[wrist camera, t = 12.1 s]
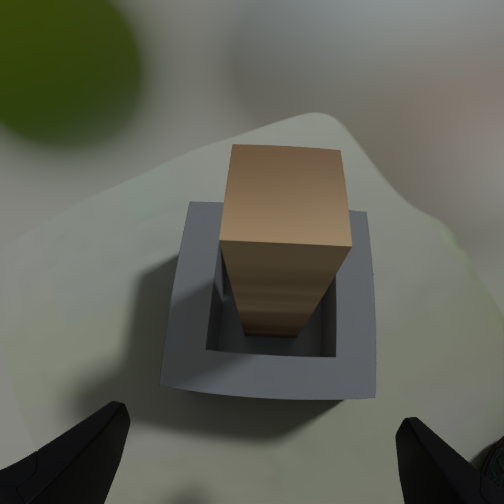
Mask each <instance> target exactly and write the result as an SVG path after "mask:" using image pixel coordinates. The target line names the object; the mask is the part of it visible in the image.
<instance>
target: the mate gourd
mask: <svg viewBox="0 0 504 504" xmlns="http://www.w3.org/2000/svg"><path fill="white" fill-rule="evenodd" d="M481 474H483V475H484V476H485V477H486V478H487V479H489V480H490V481H491V482H492V483H494V484H495V485H496V486H497V487H499V488H500V489H502V490H503V491H504V436H503V437H502V438H501V439H500V440H499V441H498V442H497V443H496V444H495V445H494V446H493V447H492V449H491V451H490V453H489V455H488V457H487V459H486V462H485V464H484V466H483V469H482V472H481Z"/></svg>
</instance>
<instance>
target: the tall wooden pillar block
mask: <svg viewBox="0 0 504 504" xmlns="http://www.w3.org/2000/svg"><path fill="white" fill-rule="evenodd" d="M219 242H220V246H221V249H222V253H223V257H224V261H225V265H226V268H227V272H228V276H229V280H230V283H231V287H232V291H233V294H234V298H235V302H236V305H237V309H238V313H239V316H240V320H241V323H242V327H243V331H244V334H245V336H254V337H274V338H297V336H298V335H299V333H300V332H301V330H302V328H303V327H304V325H305V324H306V322H307V321H308V319H309V318H310V316H311V314H312V313H313V311H314V310H315V308H316V307H317V305H318V303H319V302H320V300H321V298H322V297H323V295H324V294H325V292H326V290H327V289H328V287H329V285H330V284H331V282H332V280H333V279H334V277H335V275H336V274H337V272H338V270H339V269H340V267H341V265H342V263H343V262H344V260H345V258H346V257H347V255H348V253H349V251H350V250H351V248H352V238H351V228H350V218H349V209H348V201H347V193H346V185H345V178H344V171H343V164H342V158H341V151H340V150H332V149H320V148H307V147H292V146H272V145H237V144H233V145H232V151H231V158H230V165H229V171H228V178H227V185H226V192H225V199H224V206H223V214H222V221H221V229H220V236H219Z"/></svg>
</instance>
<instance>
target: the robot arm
mask: <svg viewBox="0 0 504 504" xmlns="http://www.w3.org/2000/svg"><path fill="white" fill-rule="evenodd" d="M129 427H130V417H129V414H128V411H127V408H126V406H125V404H124V403H122V402H118V401H111V402H110V403H108V404H107V405H105V406H104V407H102V408H101V409H99V410H98V411H97V412H95V413H94V414H92V415H91V416H89V417H88V418H86V419H85V420H83V421H82V422H80V423H79V424H77V425H76V426H74V427H73V428H71V429H70V430H68V431H66V432H65V433H63V434H62V435H60V436H59V437H57V438H56V439H54V440H53V441H51V442H49V443H48V444H46V445H45V446H43V447H42V448H40V449H38V451H35V452H34V453H32V454H31V455H29V456H27V457H25V458H24V459H22V460H20V461H18V462H17V463H14V464H12V465H10V466H8V467H6V468H4V469H2V470H0V504H104V503H105V500H106V498H107V495H108V492H109V490H110V487H111V484H112V482H113V479H114V477H115V474H116V471H117V469H118V466H119V464H120V461H121V457H122V453H123V449H124V446H125V442H126V438H127V434H128V430H129ZM395 439H396V448H397V458H398V469H399V477H400V482H401V487H402V492H403V497H404V503H405V504H504V491H503V490H502V489H500V488H499V487H497V486H496V485H495V484H494V483H492V482H491V481H490V480H489V479H487V478H486V477H485V476H484V475H483V474H481V473H480V472H479V471H478V470H477V469H476V468H475V467H473V466H472V465H471V464H470V463H469V462H468V461H466V460H465V459H464V458H463V457H462V456H461V455H459V454H458V453H457V452H456V451H455V450H454V449H453V448H451V447H450V446H449V445H448V444H447V443H446V442H445V441H443V440H442V439H441V438H440V437H439V436H438V435H437V434H435V433H434V432H433V431H432V430H431V429H430V428H429V427H427V426H426V425H425V424H424V423H423V422H422V421H421V420H419V419H418V418H417V417H409V418H405V419H404V420H403V422H402V423H401V425H400V427H399V429H398V431H397V433H396V437H395Z"/></svg>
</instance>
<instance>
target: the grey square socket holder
mask: <svg viewBox="0 0 504 504" xmlns="http://www.w3.org/2000/svg"><path fill="white" fill-rule="evenodd" d="M223 206H224V203H220V202H190V203H189V207H188V212H187V217H186V222H185V226H184V231H183V236H182V241H181V246H180V251H179V257H178V262H177V268H176V273H175V279H174V284H173V290H172V296H171V302H170V309H169V315H168V322H167V328H166V335H165V342H164V350H163V357H162V365H161V373H160V382H159V386H164V387H170V388H176V389H182V390H189V391H196V392H204V393H212V394H221V395H230V396H241V397H254V398H270V399H294V400H343V399H367V398H375V393H376V318H375V296H374V281H373V268H372V256H371V246H370V236H369V228H368V220H367V212H362V211H351V210H349V218H350V228H351V238H352V248H351V250H350V251H349V253H348V255H347V257H346V258H345V260H344V262H343V263H342V265H341V267H340V269H339V270H338V272H337V274H336V275H335V277H334V279H333V280H332V282H331V284H330V285H329V287H328V289H327V290H326V292H325V294H324V295H323V297H322V298H321V300H320V302H319V303H318V305H317V307H316V308H315V310H314V311H313V313H312V314H311V316H310V318H309V319H308V321H307V322H306V324H305V325H304V327H303V328H302V330H301V332H300V333H299V335H298V336H297V338H274V337H254V336H245V334H244V331H243V327H242V323H241V320H240V316H239V313H238V309H237V305H236V302H235V298H234V294H233V291H232V287H231V283H230V280H229V276H228V272H227V268H226V265H225V261H224V257H223V253H222V249H221V246H220V242H219V236H220V229H221V221H222V214H223Z"/></svg>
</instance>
